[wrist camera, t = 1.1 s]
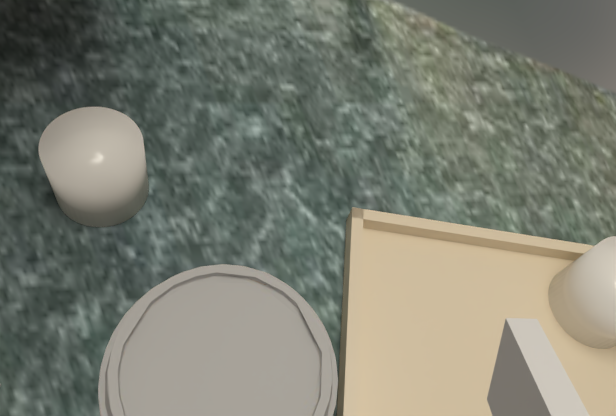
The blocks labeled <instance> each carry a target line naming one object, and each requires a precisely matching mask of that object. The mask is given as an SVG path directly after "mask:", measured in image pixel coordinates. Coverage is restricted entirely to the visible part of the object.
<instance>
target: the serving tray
mask: <svg viewBox="0 0 616 416" xmlns="http://www.w3.org/2000/svg"><path fill="white" fill-rule="evenodd" d="M593 247H594V246H592V245H586V244H580V243H574V242H567V241H561V240H555V239H548V238H542V237H536V236H530V235H523V234H517V233H511V232H504V231H498V230H492V229H486V228H479V227H473V226H467V225H460V224H454V223H448V222H442V221H435V220H429V219H423V218H416V217H410V216H404V215H398V214H391V213H385V212H379V211H372V210H366V209H360V208H354V207H352V209H351V211H350V214H349V216H348V218H347V220H346V240H345V260H344V281H343V301H342V321H341V341H340V361H339V382H338V402H337V416H492V413H491V410H490V407H489V404H488V401H487V396H488V392H489V388H490V383H491V379H492V375H493V371H494V366H495V362H496V358H497V353H498V349H499V345H500V341H501V336H502V332H503V328H504V324H505V319H506V318H525V319H537V320H538V321H539V323H540V325H541V327H542V329H543V331H544V332H545V334H546V336H547V338H548V340H549V342H550V344H551V345H552V347H553V349H554V351H555V353H556V355H557V356H558V358H559V360H560V362H561V364H562V366H563V368H564V369H565V371H566V373H567V375H568V377H569V379H570V380H571V382H572V384H573V386H574V388H575V390H576V392H577V393H578V395H579V397H580V399H581V401H582V403H583V404H584V406H585V408H586V410H587V412H588V414H589V416H616V346H614V347H612V348H607V349H597V348H592V347H589V346H586V345H584V344H582V343H580V342H578V341H576V340H575V339H574V338H572V337H571V336H570V335H569V334H567V333H566V332H565V331H564V330H563V328H562V327H561V326H560V325H559V323H558V322H557V320H556V319H555V317H554V315H553V313H552V310H551V308H550V304H549V298H548V291H549V286H550V283H551V281H552V279H553V277H554V276H555V275H556V274H557V273H558V272H560V271H561V270H563V269H564V268H565V267H567V266H568V265H569V264H571V263H572V262H573V261H575V260H576V259H578V258H579V257H580V256H582V255H583V254H584V253H586V252H587V251H589V250H590V249H591V248H593Z"/></svg>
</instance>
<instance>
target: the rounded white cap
mask: <svg viewBox="0 0 616 416" xmlns="http://www.w3.org/2000/svg"><path fill="white" fill-rule="evenodd" d="M39 157H40V160H41V162H42V165H43V167H44V170H45V172H46V174H47V177H48V179H49V182H50V184H51V187H52V189H53V192H54V194H55V197H56V199H57V202H58V204H59V206H60V208H61V210H62V211H63V212H64V213H65V215H67V216H68V217H69V218H70V219H72V220H73V221H75V222H77V223H79V224H82V225H85V226H90V227H109V226H113V225H117V224H120V223H122V222H124V221H126V220H128V219H130V218H131V217H133V216H134V215H135V214H136V213H137V212H138V211H139V210H140V209H141V208H142V207H143V205H144V203H145V202H146V199H147V197H148V192H149V182H148V174H147V166H146V158H145V150H144V142H143V137H142V133H141V131H140V129H139V128H138V126H137V125H136V124H135V122H134V121H133V120H131V119H130V118H129V117H128V116H126V115H124V114H123V113H121V112H119V111H116V110H113V109H109V108H104V107H84V108H78V109H75V110H72V111H69V112H66V113H64V114H62V115H61V116H59V117H57V118H56V119H55V120H53V121H52V122H51V123H50V124H49V125H48V126H47V127H46V129H45V130H44V132H43V134H42V136H41V138H40V141H39Z"/></svg>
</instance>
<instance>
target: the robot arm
mask: <svg viewBox="0 0 616 416" xmlns="http://www.w3.org/2000/svg"><path fill="white" fill-rule="evenodd" d="M0 386H1V385H0ZM487 401H488V404H489V407H490V410H491V413H492V416H589V414H588V412H587V410H586V408H585V406H584V404H583V403H582V401H581V399H580V397H579V395H578V393H577V392H576V390H575V388H574V386H573V384H572V382H571V380H570V379H569V377H568V375H567V373H566V371H565V369H564V368H563V366H562V364H561V362H560V360H559V358H558V356H557V355H556V353H555V351H554V349H553V347H552V345H551V344H550V342H549V340H548V338H547V336H546V334H545V332H544V331H543V329H542V327H541V325H540V323H539V321H538V320H537V319H525V318H506V319H505V324H504V328H503V332H502V336H501V341H500V345H499V349H498V353H497V358H496V362H495V366H494V371H493V375H492V379H491V383H490V388H489V392H488V396H487Z"/></svg>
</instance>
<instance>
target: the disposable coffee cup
mask: <svg viewBox="0 0 616 416" xmlns="http://www.w3.org/2000/svg"><path fill="white" fill-rule="evenodd" d="M337 387H338V376H337V366H336V358H335V354H334V351H333V347H332V344H331V340H330V338H329V336H328V334H327V332H326V329H325V327H324V325H323V323H322V322H321V320H320V319H319V317H318V316H317V315H316V313H315V312H314V310H313V309H312V307H311V306H310V305H309V304H308V303H307V302H306V301H305V300H304V299H303V298H302V297H301V296H300V295H299V294H298V293H297V292H296V291H295V290H293V289H292V288H291V287H290V286H289V285H287V284H286V283H284V282H282V281H281V280H279V279H277V278H275V277H274V276H272V275H270V274H268V273H266V272H262V271H259V270H255V269H252V268H249V267H245V266H237V265H226V264H222V265H212V266H202V267H198V268H195V269H191V270H188V271H185V272H182V273H180V274H177V275H175V276H173V277H171V278H169V279H167V280H166V281H164V282H162V283H161V284H159V285H157V286H155V287H153V288H152V289H151V290H150V291H149V292H147V293H146V294H145V295H144V296H143V297H141V298H140V299H139V300H138V301H137V302H136V303H135V304H134V305H133V306H132V307H131V308H130V309H129V311H128V312H127V313H126V314H125V315H124V317H123V318H122V320H121V321H120V323H119V324H118V326H117V327H116V329H115V330H114V332H113V334H112V336H111V338H110V341H109V343H108V345H107V347H106V350H105V354H104V357H103V360H102V364H101V368H100V376H99V384H98V398H99V407H100V415H101V416H333V413H334V409H335V406H336V399H337Z"/></svg>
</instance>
